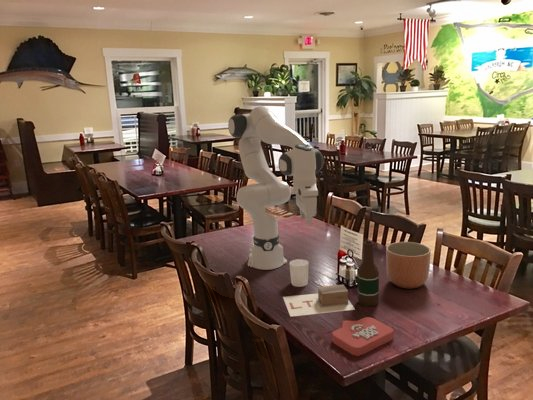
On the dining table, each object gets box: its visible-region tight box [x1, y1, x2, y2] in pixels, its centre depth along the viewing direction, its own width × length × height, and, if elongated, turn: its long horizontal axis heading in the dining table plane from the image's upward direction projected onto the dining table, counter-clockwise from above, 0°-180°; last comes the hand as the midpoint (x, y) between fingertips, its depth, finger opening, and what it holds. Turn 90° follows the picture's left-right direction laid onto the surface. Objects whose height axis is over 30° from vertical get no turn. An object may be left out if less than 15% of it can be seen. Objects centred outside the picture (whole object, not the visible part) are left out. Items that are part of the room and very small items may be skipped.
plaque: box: [331, 316, 395, 357], centre depth 148 cm, size 18×4×15 cm
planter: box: [385, 241, 432, 290], centre depth 184 cm, size 17×17×15 cm
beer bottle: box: [357, 240, 380, 307], centre depth 168 cm, size 8×8×24 cm
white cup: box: [289, 258, 310, 288], centre depth 188 cm, size 8×8×10 cm
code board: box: [282, 293, 356, 317], centre depth 171 cm, size 16×24×1 cm, turn 98°
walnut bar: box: [317, 284, 349, 306], centre depth 171 cm, size 6×10×5 cm, turn 98°
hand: (305, 221), depth 176 cm, fingers open, 8 cm apart
